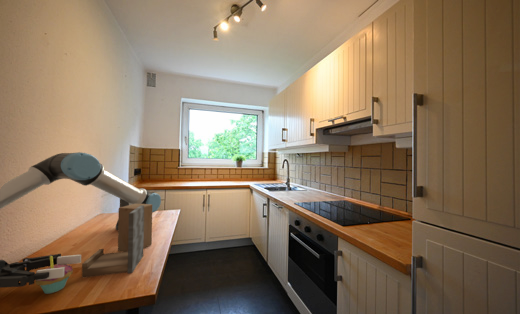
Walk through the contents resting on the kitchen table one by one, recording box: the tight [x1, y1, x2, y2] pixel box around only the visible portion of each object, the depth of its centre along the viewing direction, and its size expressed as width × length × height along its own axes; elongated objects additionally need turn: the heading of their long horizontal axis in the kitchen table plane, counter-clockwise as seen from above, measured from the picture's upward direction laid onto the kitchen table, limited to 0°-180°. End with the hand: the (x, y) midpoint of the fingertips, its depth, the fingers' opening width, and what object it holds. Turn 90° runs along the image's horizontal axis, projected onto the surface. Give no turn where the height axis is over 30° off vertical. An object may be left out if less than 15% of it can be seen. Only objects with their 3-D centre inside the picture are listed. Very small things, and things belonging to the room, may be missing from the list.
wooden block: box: [117, 204, 153, 252], centre depth 96 cm, size 10×10×20 cm
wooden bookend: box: [81, 205, 144, 279], centre depth 79 cm, size 14×16×22 cm
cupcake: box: [35, 253, 74, 294], centre depth 65 cm, size 9×8×12 cm
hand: (72, 265), depth 66 cm, fingers closed on cupcake, 8 cm apart
